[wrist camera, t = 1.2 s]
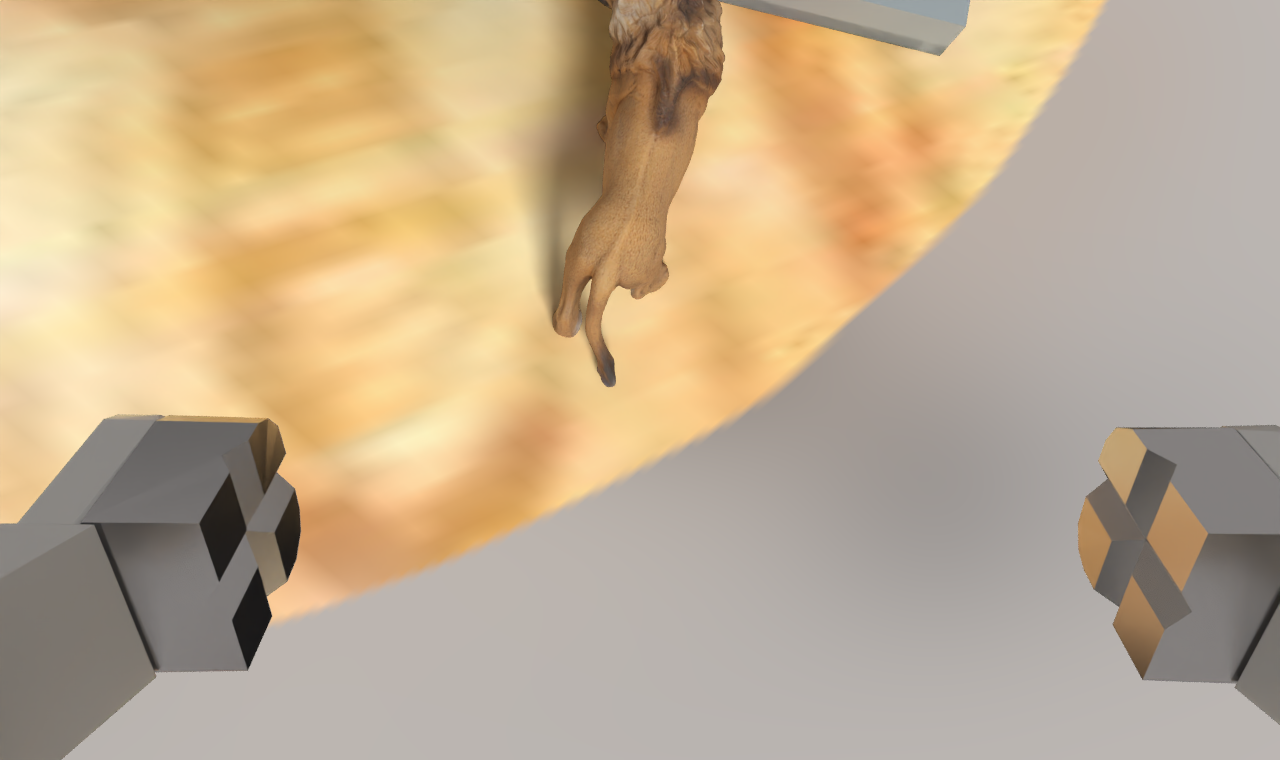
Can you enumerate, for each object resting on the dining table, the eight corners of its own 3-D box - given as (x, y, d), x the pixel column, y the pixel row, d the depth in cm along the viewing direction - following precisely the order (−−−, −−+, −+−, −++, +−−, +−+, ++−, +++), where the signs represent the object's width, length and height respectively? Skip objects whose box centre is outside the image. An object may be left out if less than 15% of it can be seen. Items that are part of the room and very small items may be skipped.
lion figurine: (575, 26, 39) (584, -116, 30) (704, 41, 39) (751, -94, 30) (544, 383, 37) (544, 345, 28) (680, 394, 37) (723, 360, 28)
